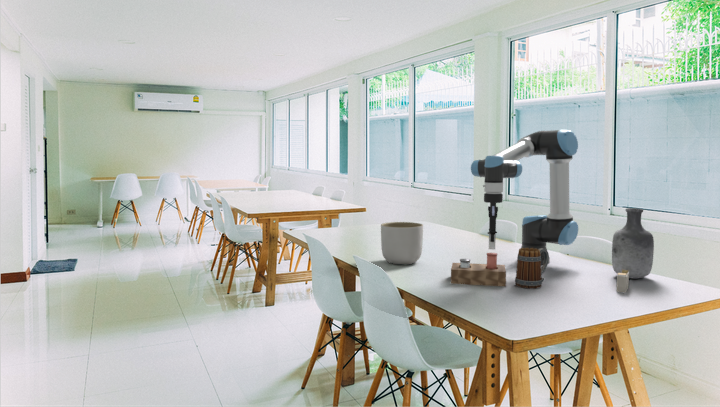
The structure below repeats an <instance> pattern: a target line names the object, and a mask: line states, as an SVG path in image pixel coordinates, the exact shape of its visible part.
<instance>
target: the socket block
mask: <svg viewBox="0 0 720 407" xmlns="http://www.w3.org/2000/svg"><path fill="white" fill-rule="evenodd" d="M450 284H453V285H466V286H467V285H471V286H486V287H487V286H491V287H506V286H507V270H506V266H505V264H497V269H487V263H473V262H470V268H460V262H452V264H451V268H450Z"/></svg>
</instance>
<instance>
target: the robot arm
mask: <svg viewBox="0 0 720 407" xmlns="http://www.w3.org/2000/svg"><path fill="white" fill-rule="evenodd" d="M578 143H579V142H578V138H577V136H576V134H575V132H574V131H572V130H569V129H555V130H554V129H553V130H552V129H551V130H538V131H535V132H533V133H530V134H528V135H526V136H523V137H522V138H519V139H518V140H517V142H516V143H514V144H511V146H509V147H506V148H505V149H502V150H500V151H499V152H497V153H496V152H495V153H494V154H493V155H486V156H485V158H483V159H477V160H476V159H475V160H474V161H473V162H471V164H470V171H471V174H472V175H473V176H474V177H476V178H477V177H479V178H484V184H483V185H482V187H483V188H484V189H483V190H484V191H483V192H484V194H483V202H484V203H489V206H487V211H488V218H489V220H488V221H489V223H488V224H489V226H488V227H489V228H488V231H487V235H488V250H492V251H495V250H496V235H497V233H498V232H497V231H496V230H497V218H498V211H499V207H498V206H497V204H500V203H503V199H504V198H503V196H504V194H503V192H504V179H514V178H518V177H520V176H521V175H522V172H523V166H522V163H521V162H520V160H522V159H523V158H530V157H532V156H545V161H547V162H548V163H549V213H548V215H546V214H540V215H538V214H537V215H528V216H527V215H526V216H525V217H523V218H522V223H521V228H522V229H521V247H520V248H529V249H530V248H534V249H540V248H543V249H546V250H547V251H548V248H547V243H548V244H555V245H559V246H570V245H572V244H573V243H574V242H575V241H576V239H577V237H578V234H579V224H578V222H576V221H575V220H574V216H573V215H572V214H571V213H570V162H571V161H572V160H573V156H574V155H576V154H577V152H578V148H579V144H578ZM540 255H541V265H543V263H544V252H543V251H542V252H541V254H540ZM549 263H550V257H549V261H548V264H549Z"/></svg>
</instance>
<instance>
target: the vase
mask: <svg viewBox="0 0 720 407" xmlns="http://www.w3.org/2000/svg"><path fill="white" fill-rule="evenodd" d="M625 212H626V223H625V224H624V226H623V227H622V228H619V229H617V230H616V231H614V233H613V236H612V243H611V265H612V269H613V271H614V273H616V275H617V274H618V273H622V269H623V270H628V272H629V279H632V280H633V279H642V278H645V277H648V276H649V275H650V274H651V271H652V268H653V263H654V262H653V261H654V253H655V252H654V251H655V250H654V249H655V246H654V245H655V244H654V243H655V241H654V236H653V233H652V232H650V231H648V230H646V229H645V228H644V226H643V225H642V213H643V212H644V209H643V208H638V207H637V208H635V207H633V208H632V207H628V208H627V207H626V208H625Z"/></svg>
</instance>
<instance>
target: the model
mask: <svg viewBox="0 0 720 407" xmlns="http://www.w3.org/2000/svg"><path fill="white" fill-rule="evenodd" d="M629 279H630V278H629V272H628V270H623V269H622V273H618V274H617V273H616V291H617V292H616V293H622V292H624V293H623V294H626V293H627V291H628V289H629V285H630V280H629Z"/></svg>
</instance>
